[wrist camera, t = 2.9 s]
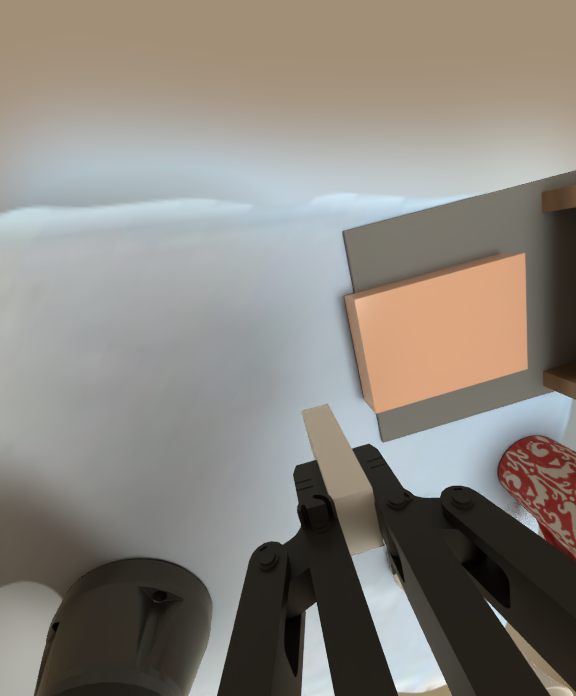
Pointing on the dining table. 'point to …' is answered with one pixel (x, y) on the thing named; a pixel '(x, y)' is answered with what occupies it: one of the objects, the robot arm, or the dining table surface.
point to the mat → (468, 245)
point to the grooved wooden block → (572, 376)
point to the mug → (544, 487)
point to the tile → (440, 330)
